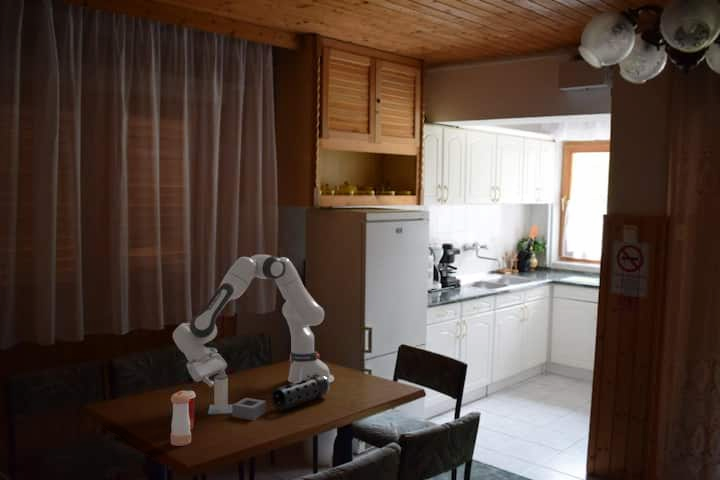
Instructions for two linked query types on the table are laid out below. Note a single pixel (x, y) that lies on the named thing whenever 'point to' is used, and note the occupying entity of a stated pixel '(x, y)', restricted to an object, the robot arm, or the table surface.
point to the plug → (221, 392)
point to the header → (249, 409)
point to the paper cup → (191, 407)
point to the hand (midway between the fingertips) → (219, 382)
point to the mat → (226, 411)
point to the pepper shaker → (180, 419)
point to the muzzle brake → (300, 392)
